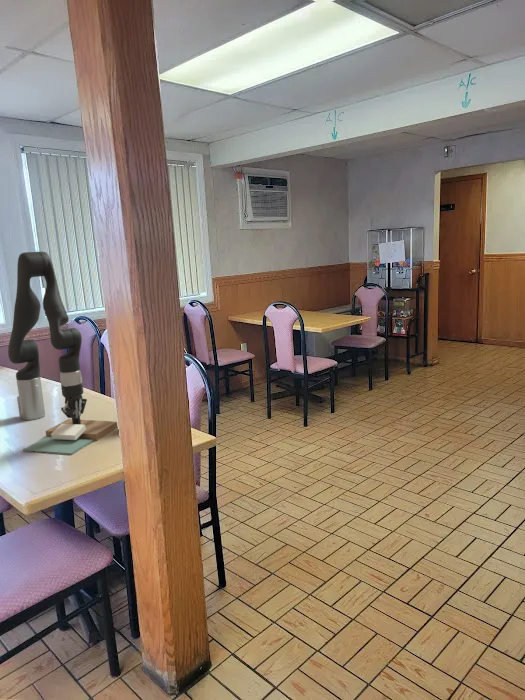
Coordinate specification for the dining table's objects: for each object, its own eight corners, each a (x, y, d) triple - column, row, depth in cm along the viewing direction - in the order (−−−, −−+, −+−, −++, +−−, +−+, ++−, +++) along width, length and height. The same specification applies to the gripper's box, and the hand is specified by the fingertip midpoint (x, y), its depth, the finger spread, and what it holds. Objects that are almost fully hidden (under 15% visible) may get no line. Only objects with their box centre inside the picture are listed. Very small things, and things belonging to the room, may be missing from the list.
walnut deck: (46, 437, 195) (45, 431, 195) (69, 424, 208) (68, 419, 208) (96, 440, 189) (96, 434, 189) (117, 427, 202) (116, 421, 202)
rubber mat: (23, 451, 182) (22, 449, 182) (47, 437, 194) (47, 436, 194) (71, 454, 177) (71, 453, 176) (93, 441, 189) (93, 439, 189)
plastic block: (52, 438, 189) (50, 434, 188) (63, 428, 195) (61, 423, 194) (75, 440, 186) (74, 435, 186) (86, 429, 193) (84, 424, 192)
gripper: (73, 377, 199) (78, 420, 202) (51, 386, 186) (57, 432, 190) (90, 378, 197) (95, 421, 200) (69, 387, 184) (75, 433, 188)
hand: (77, 426), depth 195 cm, fingers closed
